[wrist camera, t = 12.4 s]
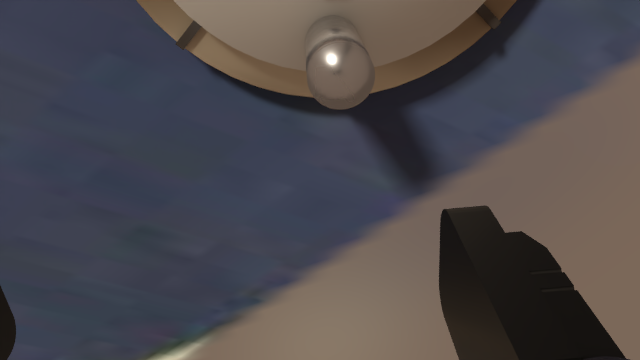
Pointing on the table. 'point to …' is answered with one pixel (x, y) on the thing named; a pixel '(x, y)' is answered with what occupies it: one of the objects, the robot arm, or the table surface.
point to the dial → (330, 36)
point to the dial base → (295, 81)
